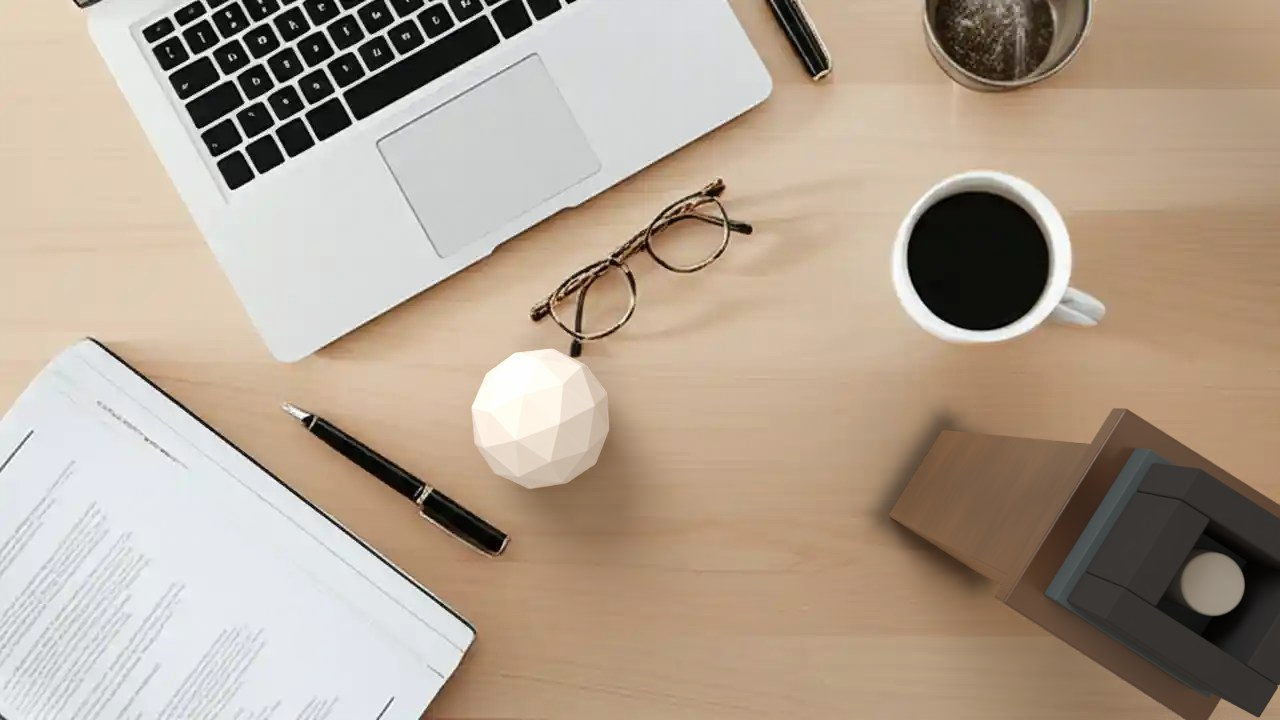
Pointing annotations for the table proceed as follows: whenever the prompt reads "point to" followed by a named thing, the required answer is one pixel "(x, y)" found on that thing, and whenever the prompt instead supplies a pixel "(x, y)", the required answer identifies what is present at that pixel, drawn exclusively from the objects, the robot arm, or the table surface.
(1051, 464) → the stand
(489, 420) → the geometric ball
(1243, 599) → the dark grey square frame
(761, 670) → the table surface
